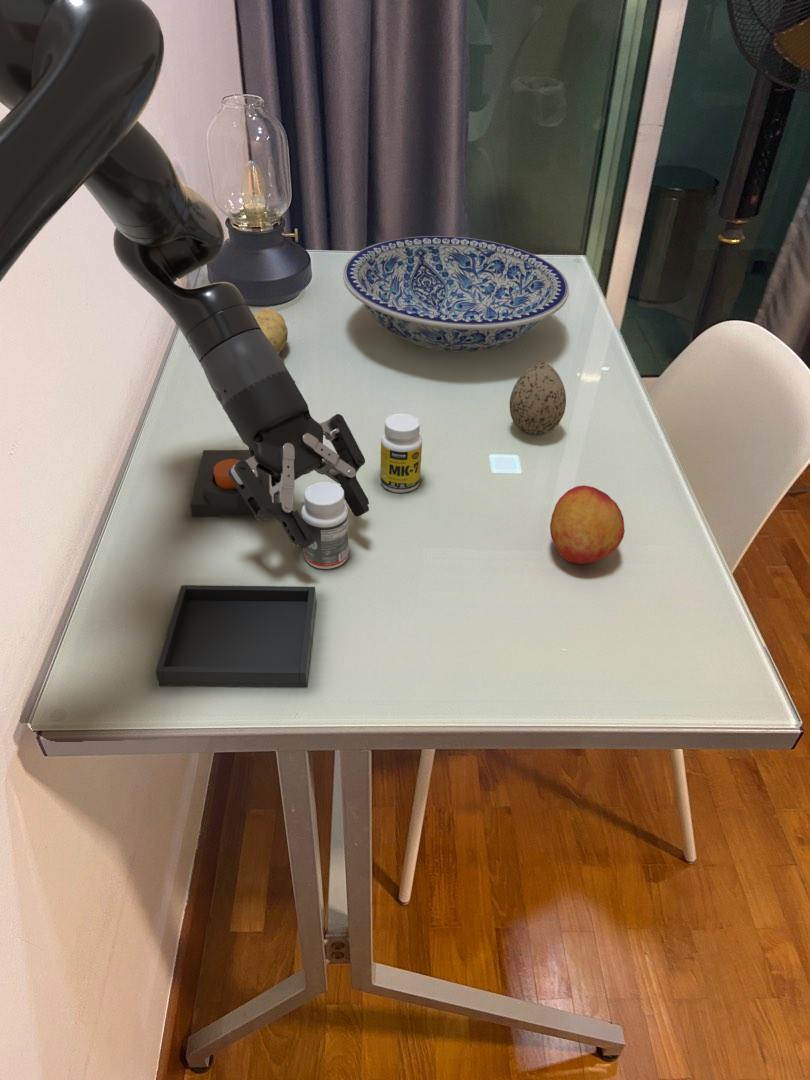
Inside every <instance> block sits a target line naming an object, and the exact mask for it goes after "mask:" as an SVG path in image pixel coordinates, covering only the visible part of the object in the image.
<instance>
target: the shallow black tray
mask: <svg viewBox="0 0 810 1080" xmlns="http://www.w3.org/2000/svg"><path fill="white" fill-rule="evenodd" d="M316 591H317V590H316V586H294V585H293V586H290V585H289V586H288V585H287V586H286V585H285V586H284V585H283V586H281V585H212V584H211V585H209V584H208V585H207V584H206V585H203V584H201V585H199V584H198V585H197V584H195V585H194V584H181V585H180V588H179V592H178V594H177V598H176V602H175V604H174V608H173V612H172V615H171V618H170V622H169V625H168V628H167V631H166V635H165V638H164V641H163V645H162V648H161V651H160V655H159V658H158V662H157V665H156V668H155V675H156V678H157V683H158V686H175V687H176V686H179V687H180V686H182V687H183V686H184V687H185V686H190V687H192V686H193V687H197V686H200V687H210V686H211V687H292V688H293V687H297V688H299V687H303V688H304V687H305V688H307V686H308V680H309V669H310V661H311V651H312V642H313V632H314V624H315V614H316V604H317V594H316V593H317V592H316Z"/></svg>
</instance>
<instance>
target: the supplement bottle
mask: <svg viewBox="0 0 810 1080" xmlns="http://www.w3.org/2000/svg"><path fill="white" fill-rule="evenodd" d="M420 426H421V424H420V420H419V419H418V418H417V417H416V416H414V415H412V414H410V413H404V412H403V413H394V414H391V415H389V416H388V417H386V418H385V421H384V432H383V434H382V435H381V438H380V470H379V473H380V475H379V477H380V481H379V482H380V484H381V485H382V487H383V488H384V489H386V490H387V491H390V492H393V493H397V494H398V493H399V494H400V493H403V494H404V493H408V492H412V491H414V490H415V489H416V488H418V487H419V485H420V481H421V480H420V479H421V467H422V451H423V449H422V448H423V437H422V436H421V434H420V431H421V427H420Z"/></svg>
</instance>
